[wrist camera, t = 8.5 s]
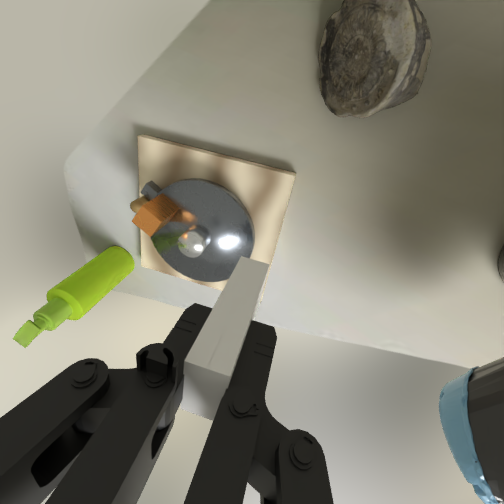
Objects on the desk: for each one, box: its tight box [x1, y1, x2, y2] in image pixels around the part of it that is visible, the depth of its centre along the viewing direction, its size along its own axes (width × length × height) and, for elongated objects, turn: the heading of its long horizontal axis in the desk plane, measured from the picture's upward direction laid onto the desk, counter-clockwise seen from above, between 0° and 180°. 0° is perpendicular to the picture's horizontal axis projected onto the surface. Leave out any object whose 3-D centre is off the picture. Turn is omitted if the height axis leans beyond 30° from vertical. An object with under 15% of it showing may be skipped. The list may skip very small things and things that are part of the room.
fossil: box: [318, 0, 431, 118], centre depth 27 cm, size 11×9×10 cm
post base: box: [130, 134, 296, 303], centre depth 41 cm, size 22×22×6 cm
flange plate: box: [132, 178, 255, 282], centre depth 39 cm, size 18×16×6 cm
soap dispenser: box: [13, 246, 134, 348], centre depth 43 cm, size 6×7×20 cm
